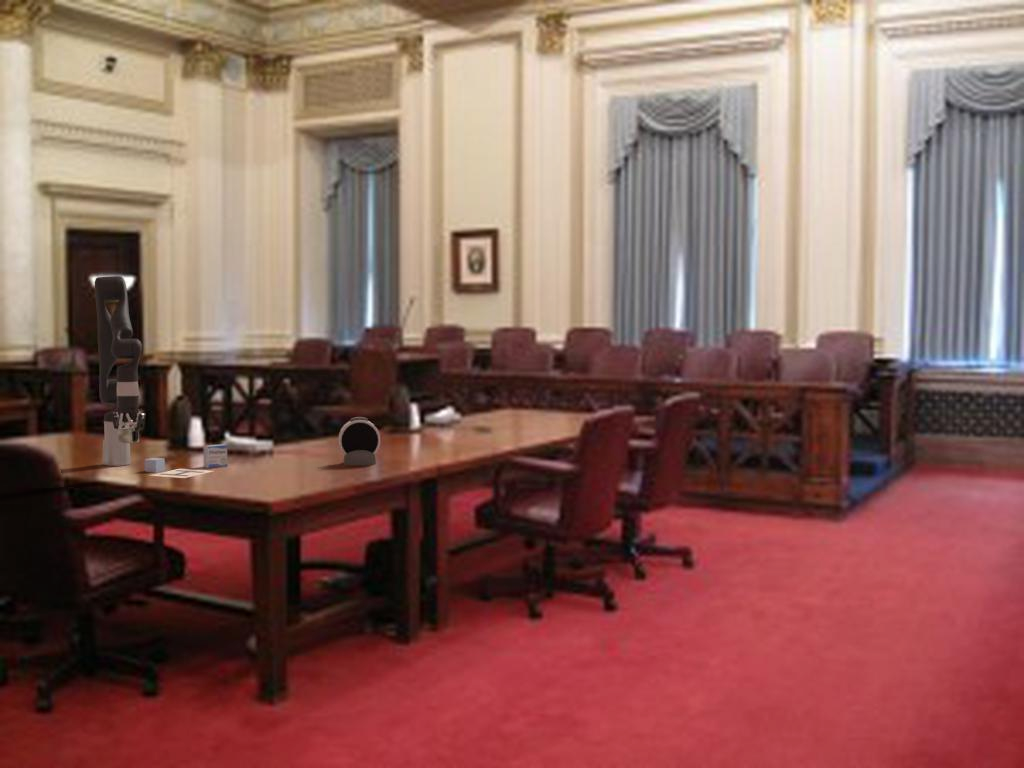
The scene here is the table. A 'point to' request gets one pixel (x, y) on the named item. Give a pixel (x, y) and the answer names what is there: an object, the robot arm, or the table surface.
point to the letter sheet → (181, 473)
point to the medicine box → (215, 456)
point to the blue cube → (154, 464)
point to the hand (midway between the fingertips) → (129, 441)
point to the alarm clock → (359, 442)
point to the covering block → (125, 435)
